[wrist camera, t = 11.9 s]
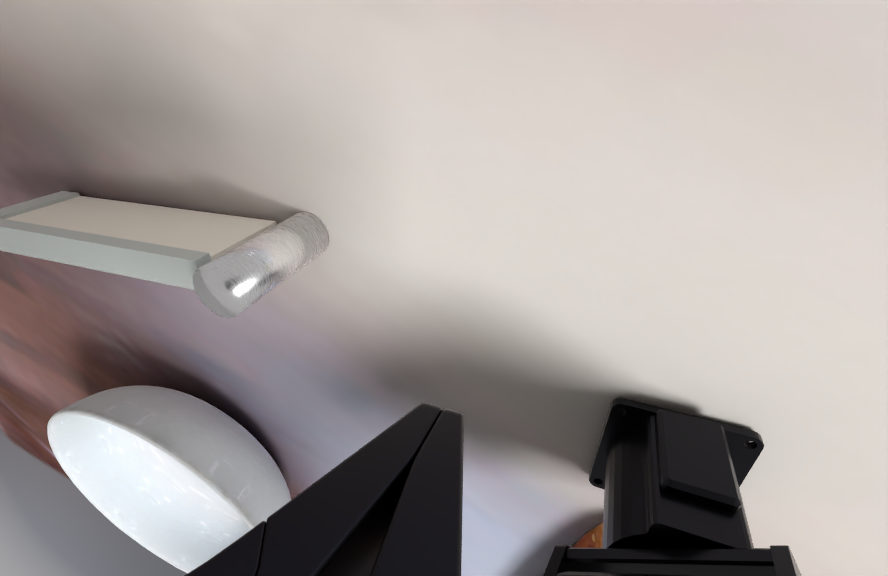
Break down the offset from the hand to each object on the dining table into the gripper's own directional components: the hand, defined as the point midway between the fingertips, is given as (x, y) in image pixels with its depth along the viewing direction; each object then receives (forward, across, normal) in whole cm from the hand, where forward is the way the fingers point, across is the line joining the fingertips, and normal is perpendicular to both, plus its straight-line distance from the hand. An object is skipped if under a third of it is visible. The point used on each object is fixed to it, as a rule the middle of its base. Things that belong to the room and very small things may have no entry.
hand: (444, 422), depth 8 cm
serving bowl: (+12, +25, +26) cm, 38 cm away
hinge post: (+12, +12, +3) cm, 17 cm away
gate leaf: (+12, +22, +3) cm, 25 cm away
